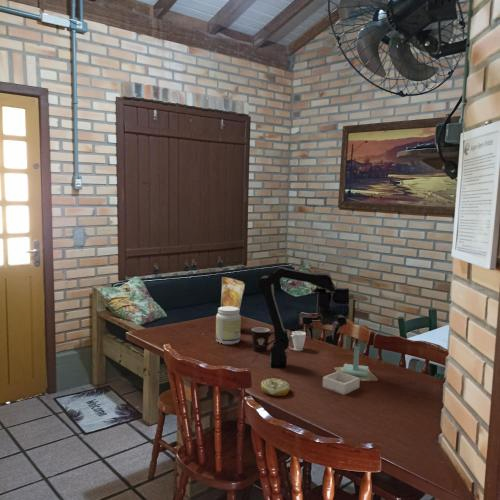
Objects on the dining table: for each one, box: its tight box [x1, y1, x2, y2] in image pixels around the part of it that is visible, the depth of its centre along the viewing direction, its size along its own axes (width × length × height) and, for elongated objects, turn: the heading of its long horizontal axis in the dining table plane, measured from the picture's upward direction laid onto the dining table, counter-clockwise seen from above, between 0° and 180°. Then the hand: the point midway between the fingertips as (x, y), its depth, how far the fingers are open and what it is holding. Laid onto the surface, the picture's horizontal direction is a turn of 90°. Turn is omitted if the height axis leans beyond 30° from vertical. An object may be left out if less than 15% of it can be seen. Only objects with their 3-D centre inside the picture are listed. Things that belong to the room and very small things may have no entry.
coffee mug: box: [251, 326, 275, 354], centre depth 227 cm, size 12×9×10 cm
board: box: [334, 366, 379, 382], centre depth 200 cm, size 14×14×1 cm
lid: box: [342, 343, 369, 378], centre depth 199 cm, size 10×10×12 cm
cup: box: [288, 330, 307, 352], centre depth 231 cm, size 7×10×8 cm
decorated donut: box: [260, 377, 291, 397], centre depth 180 cm, size 10×11×4 cm
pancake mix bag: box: [220, 276, 246, 311], centre depth 262 cm, size 7×19×28 cm, turn 35°
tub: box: [322, 371, 361, 396], centre depth 185 cm, size 10×10×4 cm
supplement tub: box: [215, 306, 242, 345], centre depth 240 cm, size 12×12×17 cm
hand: (322, 339), depth 204 cm, fingers open, 9 cm apart
